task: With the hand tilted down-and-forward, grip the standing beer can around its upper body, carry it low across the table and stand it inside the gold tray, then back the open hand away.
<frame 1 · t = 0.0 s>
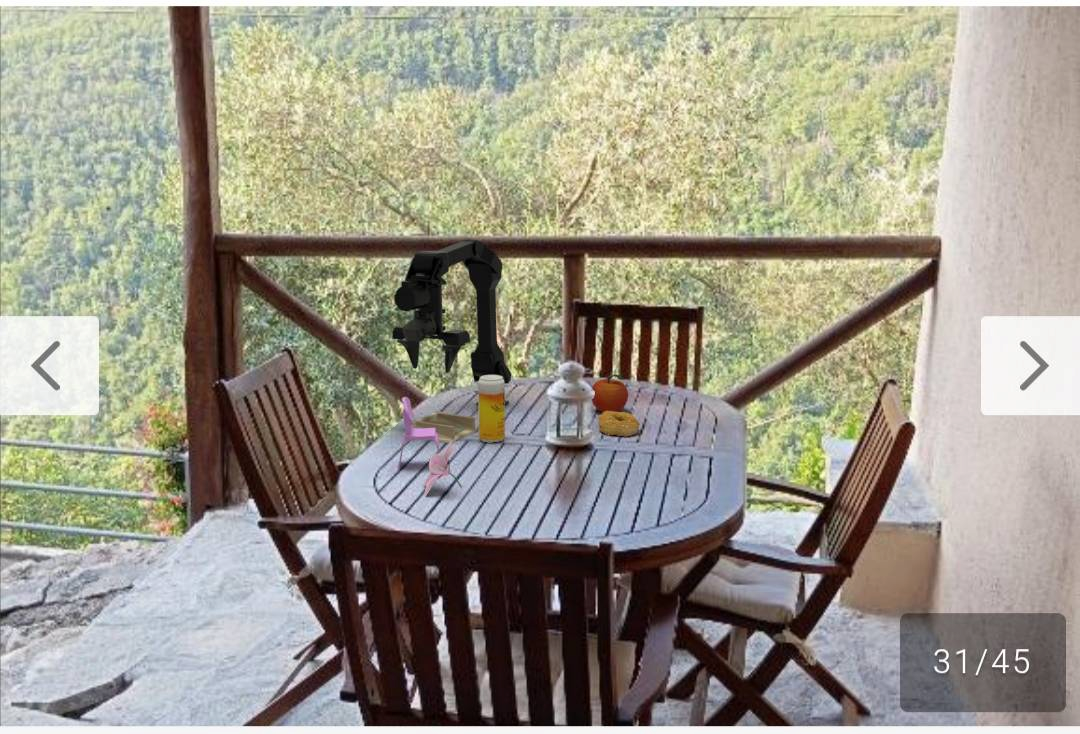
hand: (431, 370, 255), 15 cm above the table, tool pointing down, fingers open, 9 cm apart
gold tray: (442, 433, 255), on the table
bagel: (619, 433, 257), on the table
toy chair: (418, 466, 231), on the table
beer can: (491, 440, 250), on the table
lily: (441, 490, 215), on the table
fruit: (609, 412, 276), on the table
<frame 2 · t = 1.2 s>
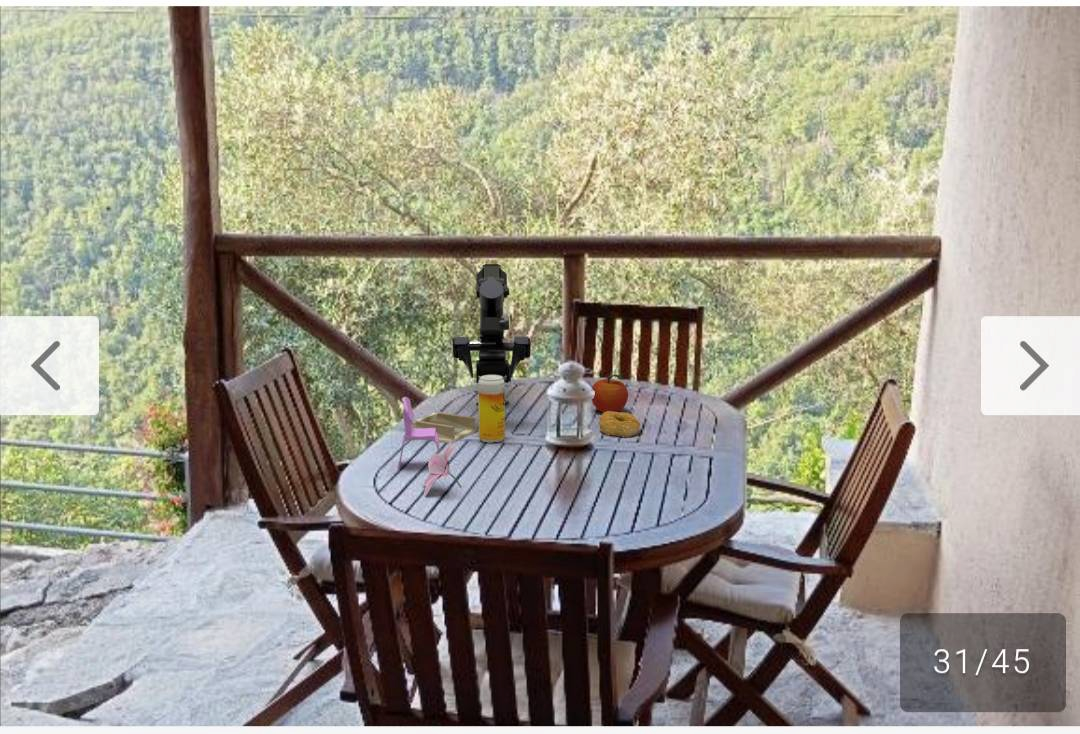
hand: (491, 376, 254), 13 cm above the table, tool tilted 45°, fingers open, 9 cm apart
nothing on the table moved.
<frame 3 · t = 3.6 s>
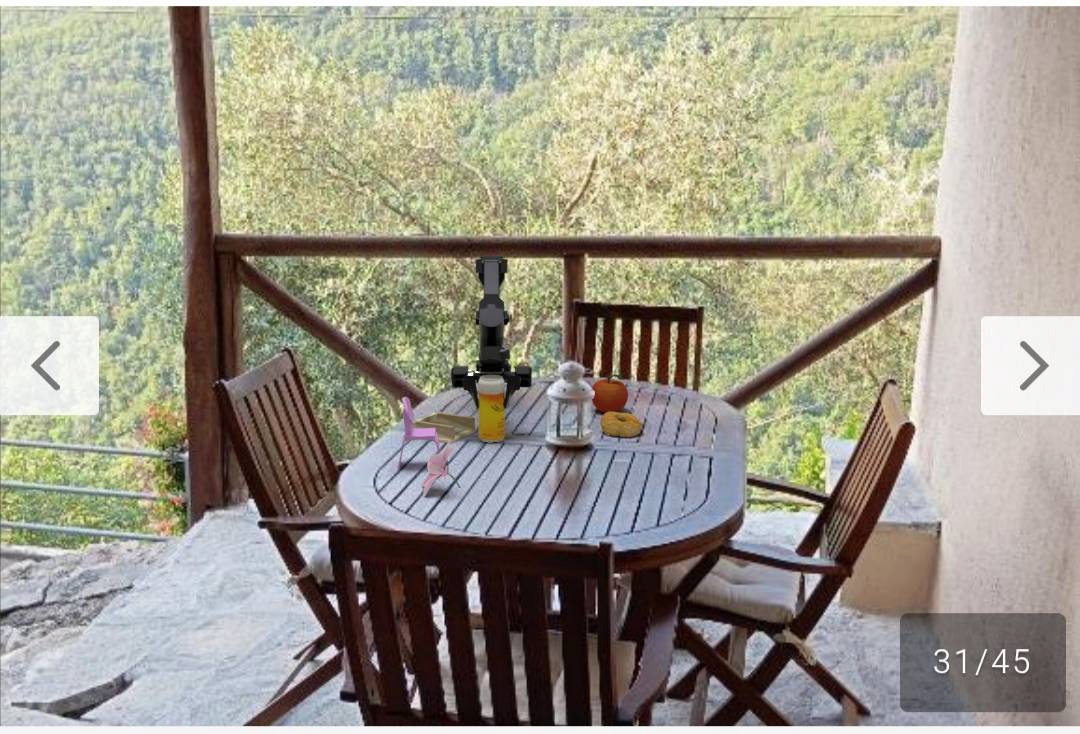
hand: (491, 407, 247), 8 cm above the table, tool tilted 45°, fingers closed on beer can, 6 cm apart
beer can: (491, 440, 250), on the table, touching gripper
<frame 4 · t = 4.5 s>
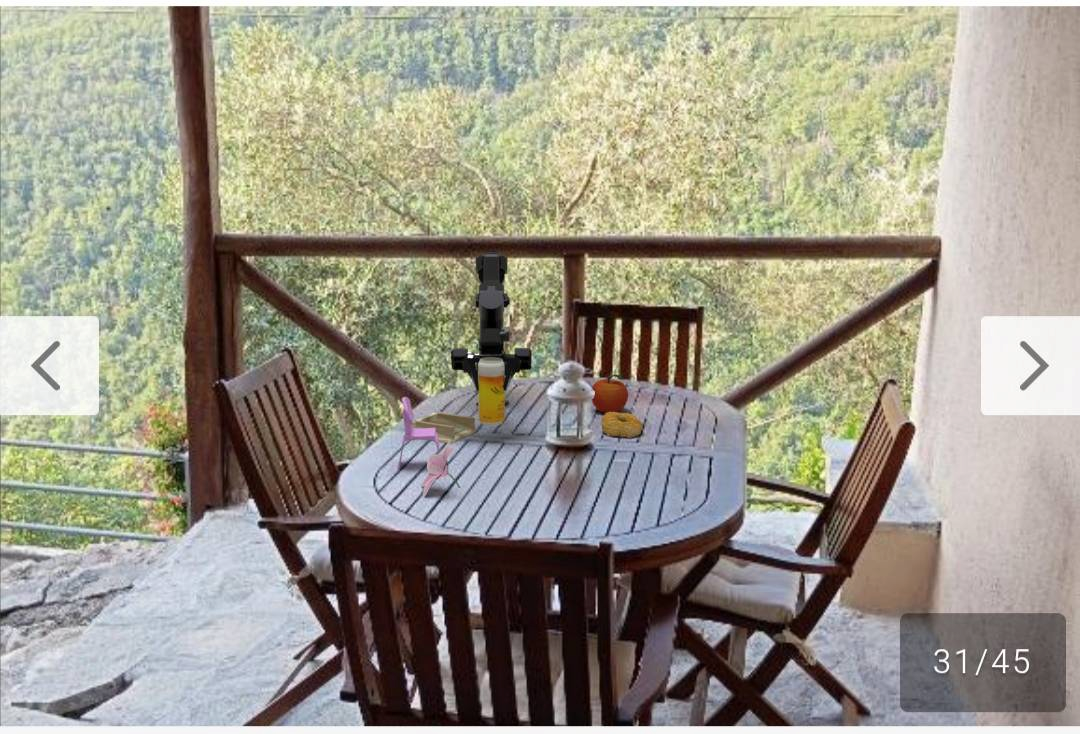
hand: (491, 390, 246), 12 cm above the table, tool tilted 45°, fingers closed on beer can, 6 cm apart
beer can: (491, 423, 249), point 4 cm above the table, touching gripper
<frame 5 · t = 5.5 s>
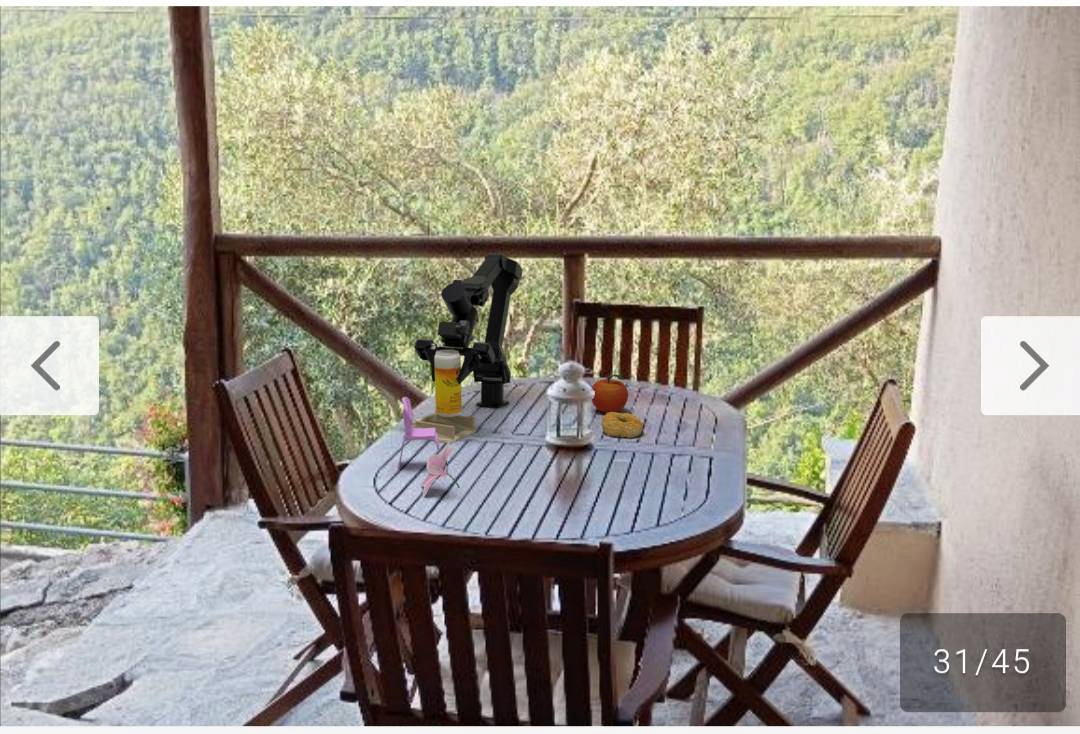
hand: (445, 381, 250), 13 cm above the table, tool tilted 45°, fingers closed on beer can, 6 cm apart
beer can: (448, 414, 253), point 5 cm above the table, touching gripper
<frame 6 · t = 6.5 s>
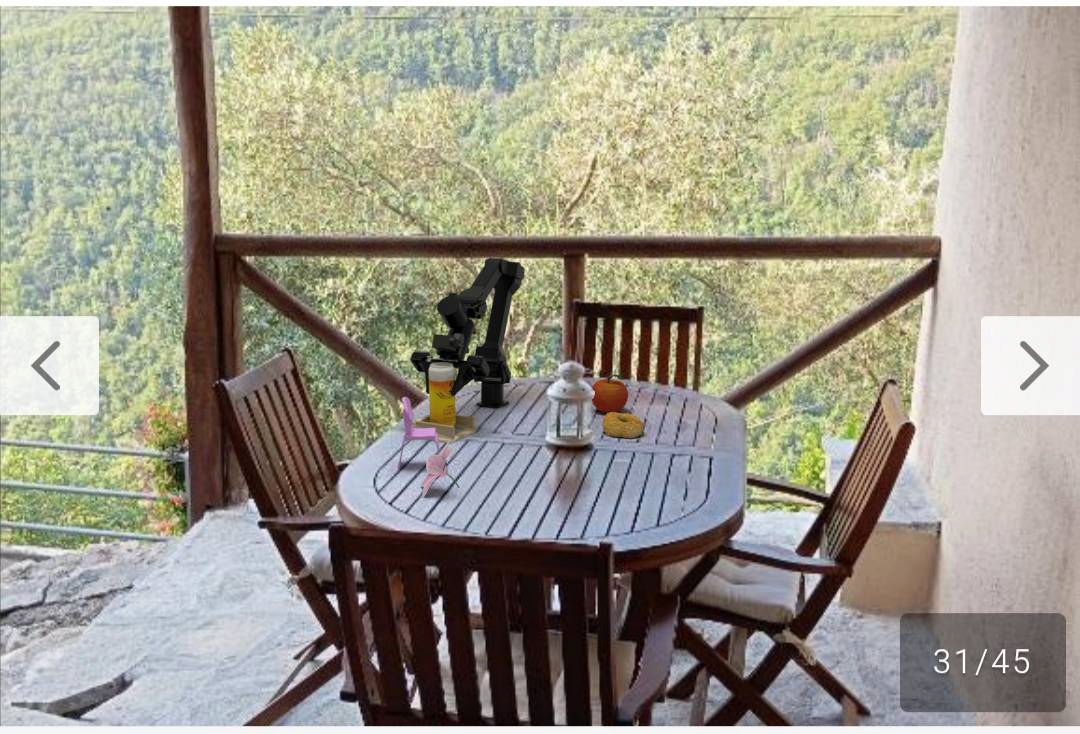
hand: (439, 394, 252), 10 cm above the table, tool tilted 45°, fingers closed on beer can, 6 cm apart
beer can: (443, 427, 255), point 2 cm above the table, touching gripper
when the fingers open (10 cm above the table, at t = 7.0 s): beer can stays where it is, resting on gold tray.
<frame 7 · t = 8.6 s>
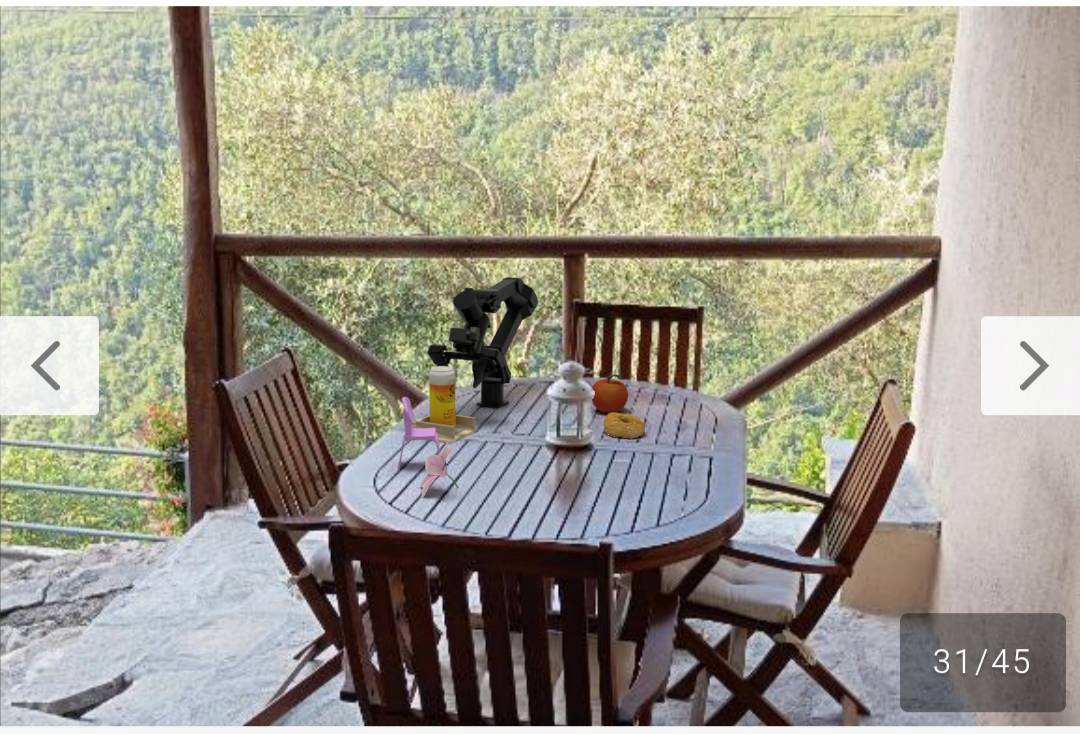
hand: (456, 386, 260), 10 cm above the table, tool tilted 45°, fingers open, 9 cm apart
beer can: (443, 431, 255), point 1 cm above the table, touching gold tray
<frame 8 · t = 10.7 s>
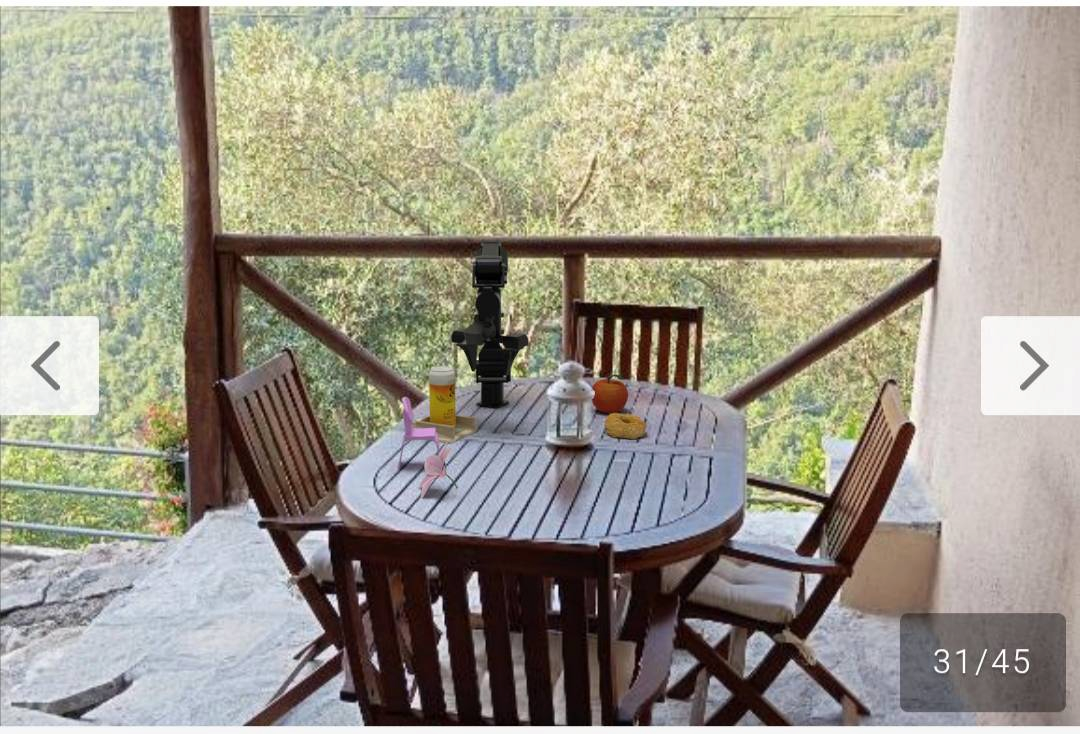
hand: (489, 373, 260), 13 cm above the table, tool pointing down, fingers open, 9 cm apart
at the end: beer can 0.5 cm off-centre on the gold tray, point 0.6 cm above the gold tray's base; beer can tilted 0°; the gripper is holding nothing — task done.
